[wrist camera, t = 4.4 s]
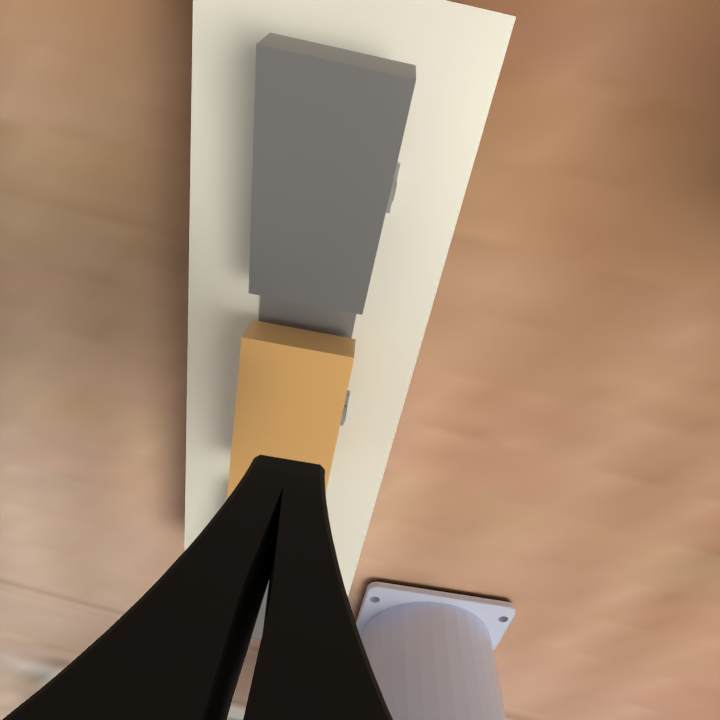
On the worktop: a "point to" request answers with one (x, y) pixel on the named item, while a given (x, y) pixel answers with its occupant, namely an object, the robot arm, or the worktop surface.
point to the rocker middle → (288, 396)
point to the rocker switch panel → (396, 245)
